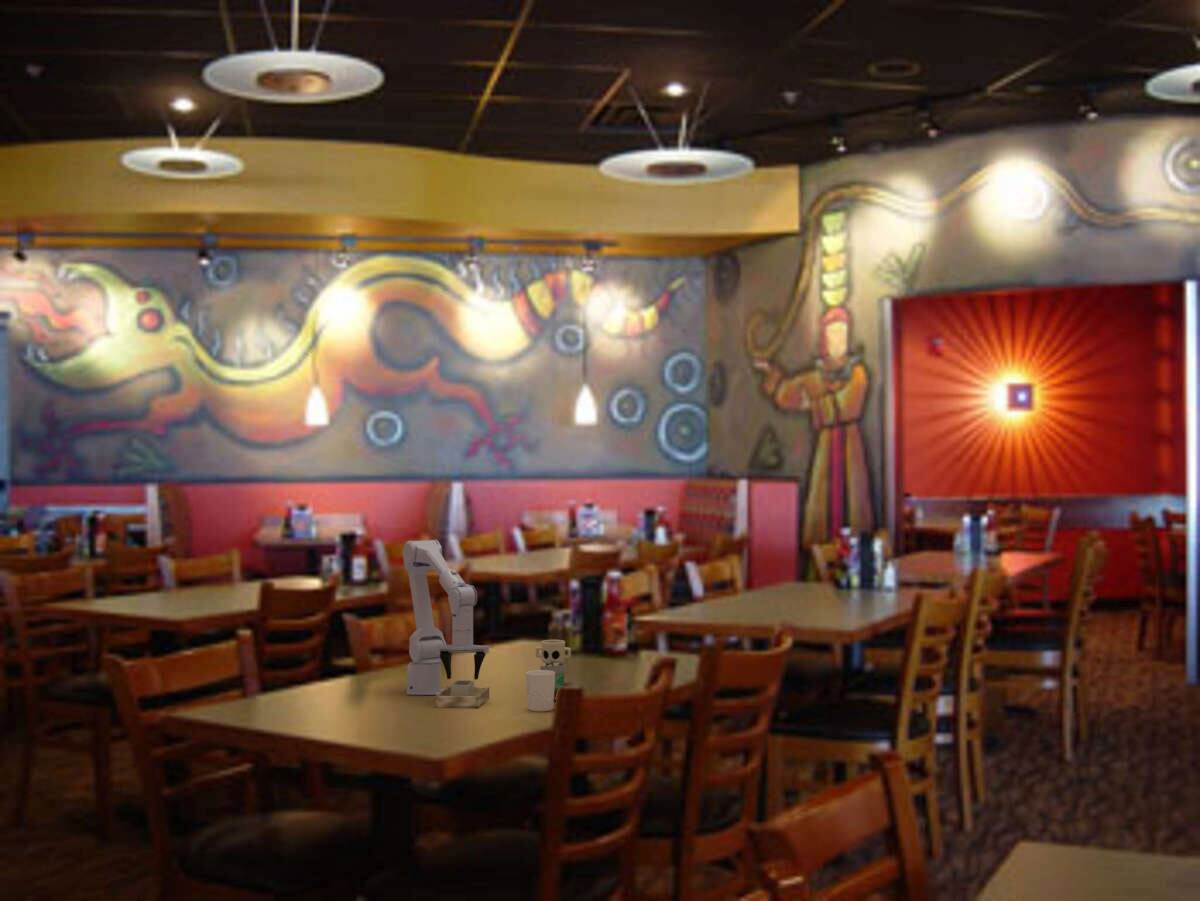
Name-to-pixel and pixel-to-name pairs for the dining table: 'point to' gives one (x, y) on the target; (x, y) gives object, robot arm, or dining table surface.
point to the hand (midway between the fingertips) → (462, 678)
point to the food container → (556, 673)
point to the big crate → (462, 699)
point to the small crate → (462, 688)
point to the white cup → (540, 690)
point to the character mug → (553, 651)
